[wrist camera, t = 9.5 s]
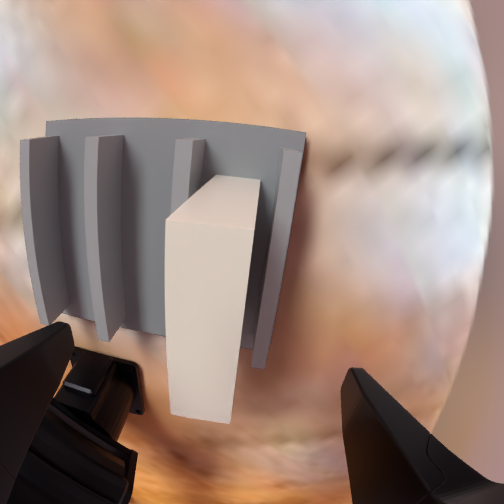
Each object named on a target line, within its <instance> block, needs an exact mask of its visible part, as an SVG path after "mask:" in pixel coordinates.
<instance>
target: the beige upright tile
mask: <svg viewBox="0 0 504 504" xmlns="http://www.w3.org/2000/svg"><path fill="white" fill-rule="evenodd" d="M260 181H261V180H258V179H250V178H241V177H232V176H223V175H215V176H214V177H213V178H212V179H211V180H209V181H208V182H207V183H206V184H205V185H204V186H202V187H201V188H200V189H199V190H198V191H197V192H196V193H195V194H193V195H192V196H191V197H190V198H189V199H188V200H187V201H185V202H184V203H183V204H182V205H181V206H180V207H179V208H178V209H177V210H176V211H174V212H173V213H172V214H171V215H170V216H169V217H168V218H167V219H166V224H165V326H166V351H167V369H168V384H169V397H170V409H171V414H172V415H177V416H182V417H188V418H193V419H199V420H206V421H212V422H219V423H227V424H230V420H231V412H232V404H233V397H234V389H235V381H236V373H237V365H238V357H239V349H240V341H241V333H242V325H243V317H244V309H245V301H246V293H247V285H248V277H249V269H250V261H251V253H252V245H253V237H254V230H255V221H256V213H257V205H258V197H259V189H260Z"/></svg>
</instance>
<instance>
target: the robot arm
mask: <svg viewBox="0 0 504 504" xmlns="http://www.w3.org/2000/svg"><path fill="white" fill-rule="evenodd" d="M69 360H71V364H72V369H71V370H70V372H69V373H68V375H67V376H66V378H65V379H64V381H63V385H62V386H61V388H60V389H59V391H58V392H57V394H56V395H55V397H54V398H53V396H54V394H55V393H56V391H57V389H58V387H59V384H60V382H61V380H62V377H63V375H64V372H65V370H66V367H67V365H68V362H69ZM131 367H132V368H131ZM144 410H145V409H144V404H143V398H142V391H141V385H140V378H139V370H138V366H137V364H136V363H134V362H132V361H128V360H123V359H119V358H115V357H111V356H107V355H103V354H99V353H96V352H92V351H88V350H85V349H81V348H78V347H74V340H73V335H72V331H71V327H70V325H69V324H67V323H64V322H60V321H59V322H56V323H53V324H51V325H49V326H46V327H44V328H41V329H39V330H37V331H34V332H32V333H29V334H27V335H25V336H22V337H20V338H18V339H15V340H13V341H10V342H8V343H6V344H3V345H1V346H0V504H128V503H129V501H130V498H131V495H132V491H133V485H134V477H135V470H136V463H137V456H138V453H137V452H135V451H134V450H130V449H128V448H126V447H125V446H123V445H121V444H120V443H118V442H117V440H118V438H119V436H120V433H121V431H122V428H123V426H124V424H125V421H126V419H127V417H128V414H129V412H130V413H134V414H138V415H142V414H143V413H144ZM341 411H342V433H343V440H344V447H345V453H346V460H347V466H348V473H349V480H350V488H351V495H352V503H353V504H504V484H501V483H495V482H493V481H490V480H488V479H486V478H485V477H483V476H482V475H481V474H479V473H478V472H477V471H475V470H474V469H473V468H471V467H470V466H469V465H467V464H466V463H465V462H463V461H462V460H461V459H460V458H458V457H457V456H456V455H455V454H453V453H452V452H451V451H450V450H448V449H447V448H446V447H445V446H444V445H443V444H442V443H441V442H440V441H438V440H437V439H436V438H435V437H434V436H433V435H432V434H430V432H429V431H428V430H427V429H426V428H425V427H424V426H423V425H421V424H420V423H419V422H418V421H417V420H416V419H415V418H414V417H413V416H412V415H411V414H410V413H409V412H408V411H407V410H406V409H405V408H404V407H403V406H402V405H400V404H399V403H398V402H397V401H396V400H395V399H394V398H393V397H392V396H391V395H390V394H389V393H388V392H387V391H386V390H385V389H384V388H383V387H382V386H381V385H380V384H379V383H378V382H376V381H375V380H374V379H373V378H372V377H371V376H370V375H369V374H368V373H367V372H366V371H365V370H364V369H363V368H353V367H352V368H349V370H348V371H347V374H346V376H345V379H344V381H343V384H342V386H341Z"/></svg>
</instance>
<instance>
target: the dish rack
mask: <svg viewBox="0 0 504 504" xmlns="http://www.w3.org/2000/svg"><path fill="white" fill-rule="evenodd" d="M305 137H306V132H299V131H293V130H286V129H280V128H272V127H265V126H257V125H248V124H239V123H229V122H217V121H205V120H189V119H169V118H89V119H70V120H55V121H46V137H39V138H31V139H24V140H20V187H21V205H22V217H23V228H24V237H25V245H26V252H27V259H28V265H29V271H30V277H31V282H32V287H33V292H34V297H35V302H36V306H37V310H38V315H39V319H40V323H41V324H44V325H48V326H49V325H51V324H52V322H53V321H54V320H55V319H56V318H57V317H58V316H59V315H60V314H61V313H64V314H68V315H71V316H75V317H79V318H83V319H87V320H91V321H95V325H96V331H97V336H98V340H102V341H106V342H110V340H111V339H112V337H113V336H114V334H115V333H116V331H117V330H118V328H119V327H122V328H127V329H131V330H136V331H141V332H146V333H151V334H157V335H162V336H166V326H165V224H166V219H167V218H168V217H169V216H170V215H171V214H172V213H173V212H174V211H176V210H177V209H178V208H179V207H180V206H181V205H182V204H183V203H184V202H185V201H187V200H188V199H189V198H190V197H191V196H192V195H193V194H195V193H196V192H197V191H198V190H199V189H200V188H201V187H202V186H204V185H205V184H206V183H207V182H208V181H209V180H211V179H212V178H213V177H214V176H215V175H223V176H232V177H241V178H250V179H258V180H261V181H260V189H259V197H258V205H257V213H256V221H255V230H254V237H253V245H252V253H251V261H250V269H249V277H248V285H247V293H246V301H245V309H244V317H243V325H242V333H241V341H240V348H246V349H252V358H251V368H258V369H265V364H266V359H267V354H268V351H269V348H270V343H271V338H272V333H273V327H274V322H275V317H276V312H277V306H278V301H279V296H280V290H281V285H282V279H283V274H284V268H285V262H286V257H287V251H288V245H289V239H290V233H291V227H292V221H293V215H294V209H295V203H296V197H297V190H298V184H299V177H300V171H301V164H302V157H303V151H304V144H305Z"/></svg>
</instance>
